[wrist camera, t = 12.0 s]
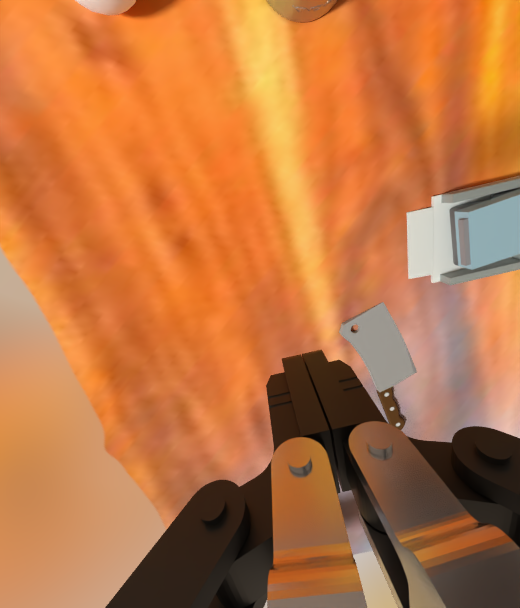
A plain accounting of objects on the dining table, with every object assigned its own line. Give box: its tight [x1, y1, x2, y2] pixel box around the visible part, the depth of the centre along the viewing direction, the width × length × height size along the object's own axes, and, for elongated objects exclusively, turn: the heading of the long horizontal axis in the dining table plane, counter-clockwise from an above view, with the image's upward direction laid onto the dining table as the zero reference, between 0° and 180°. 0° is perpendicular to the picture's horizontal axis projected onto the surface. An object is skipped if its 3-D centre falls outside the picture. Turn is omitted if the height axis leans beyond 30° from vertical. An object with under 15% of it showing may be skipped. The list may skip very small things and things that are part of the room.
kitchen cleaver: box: [339, 302, 417, 430], centre depth 43 cm, size 24×1×10 cm
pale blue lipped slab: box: [449, 187, 520, 270], centre depth 33 cm, size 7×10×4 cm
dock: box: [407, 176, 520, 285], centre depth 35 cm, size 12×15×2 cm
